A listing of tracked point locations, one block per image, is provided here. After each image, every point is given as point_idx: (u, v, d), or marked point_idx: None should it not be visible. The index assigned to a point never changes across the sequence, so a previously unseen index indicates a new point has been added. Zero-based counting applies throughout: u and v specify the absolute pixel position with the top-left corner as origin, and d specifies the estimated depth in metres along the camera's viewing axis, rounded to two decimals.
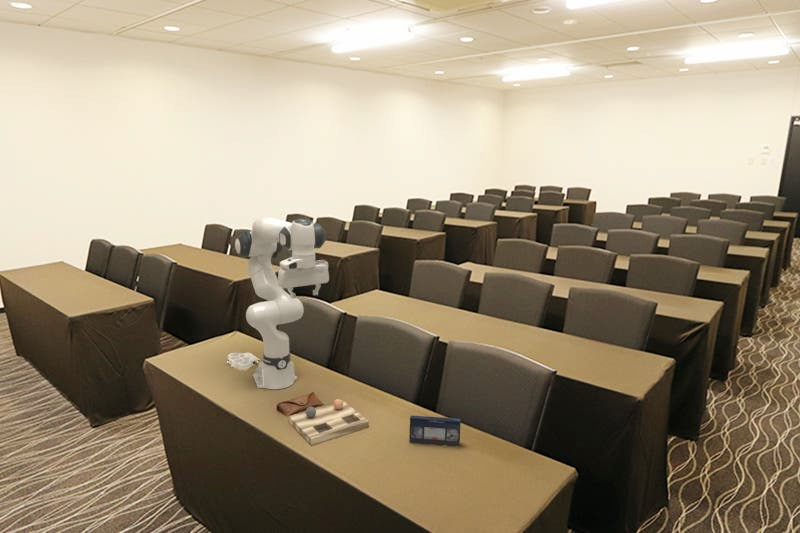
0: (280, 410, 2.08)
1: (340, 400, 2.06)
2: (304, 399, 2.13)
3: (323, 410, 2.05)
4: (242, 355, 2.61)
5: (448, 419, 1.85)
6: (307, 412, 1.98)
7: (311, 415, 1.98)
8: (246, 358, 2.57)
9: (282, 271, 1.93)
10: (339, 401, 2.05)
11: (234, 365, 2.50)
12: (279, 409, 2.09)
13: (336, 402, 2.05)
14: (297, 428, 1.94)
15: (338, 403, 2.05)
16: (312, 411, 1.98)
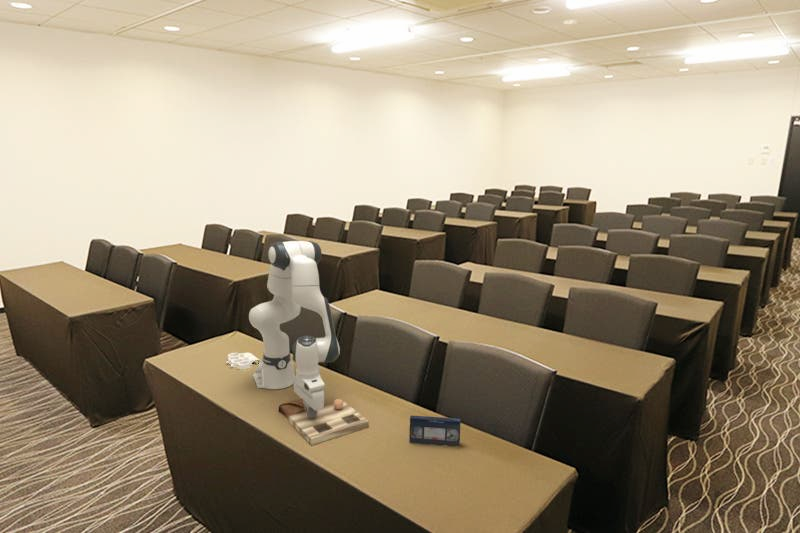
0: (282, 412, 2.07)
1: (340, 400, 2.06)
2: None
3: (323, 410, 2.05)
4: (242, 355, 2.61)
5: (448, 419, 1.85)
6: (309, 415, 1.97)
7: (312, 418, 1.98)
8: (246, 358, 2.57)
9: (320, 393, 1.93)
10: (339, 401, 2.05)
11: (234, 365, 2.50)
12: (281, 411, 2.07)
13: (336, 402, 2.05)
14: (297, 428, 1.94)
15: (338, 403, 2.05)
16: (314, 416, 1.97)
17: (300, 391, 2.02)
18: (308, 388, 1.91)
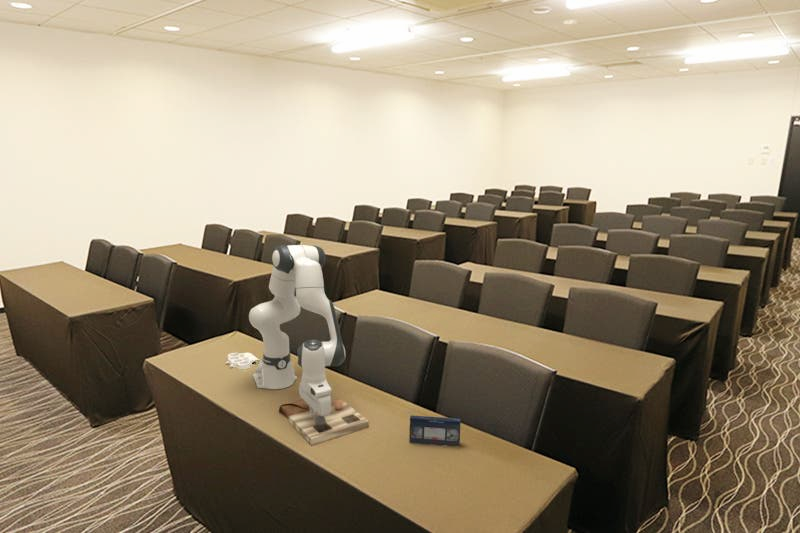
0: (282, 412, 2.06)
1: (340, 400, 2.06)
2: None
3: None
4: (242, 355, 2.61)
5: (448, 419, 1.85)
6: (315, 420, 1.93)
7: (317, 416, 1.93)
8: (246, 358, 2.57)
9: (327, 398, 1.89)
10: (339, 401, 2.05)
11: (233, 365, 2.50)
12: (281, 411, 2.07)
13: (336, 402, 2.05)
14: (297, 428, 1.94)
15: (338, 403, 2.05)
16: None
17: (306, 396, 1.97)
18: (314, 393, 1.87)
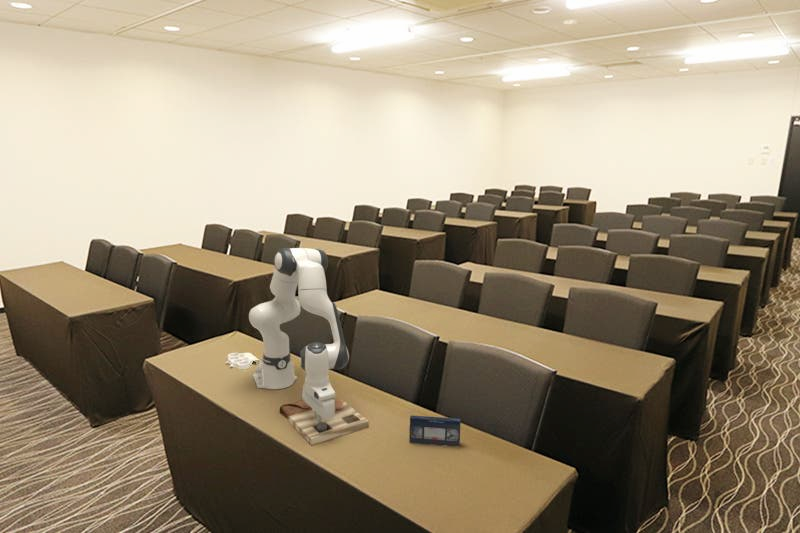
0: (283, 413, 2.06)
1: (340, 400, 2.06)
2: None
3: None
4: (242, 355, 2.61)
5: (448, 419, 1.85)
6: (317, 426, 1.92)
7: (321, 425, 1.92)
8: (246, 358, 2.57)
9: (330, 401, 1.86)
10: (339, 401, 2.05)
11: (233, 365, 2.50)
12: (282, 412, 2.06)
13: (336, 402, 2.05)
14: (297, 428, 1.94)
15: (338, 403, 2.05)
16: (321, 422, 1.93)
17: (309, 399, 1.95)
18: (318, 397, 1.85)
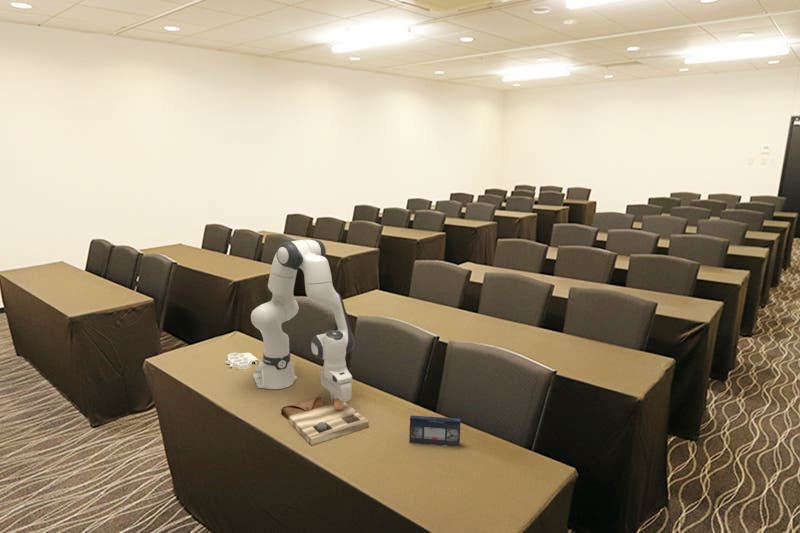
0: (284, 414, 2.05)
1: (342, 402, 2.05)
2: (309, 403, 2.09)
3: (323, 410, 2.05)
4: (242, 355, 2.61)
5: (448, 419, 1.85)
6: (317, 426, 1.92)
7: (321, 425, 1.91)
8: (245, 358, 2.57)
9: (348, 385, 2.00)
10: (340, 403, 2.05)
11: (233, 365, 2.50)
12: (283, 413, 2.05)
13: (337, 404, 2.04)
14: (297, 428, 1.94)
15: (339, 405, 2.04)
16: (321, 422, 1.93)
17: (327, 383, 2.09)
18: (336, 380, 1.99)
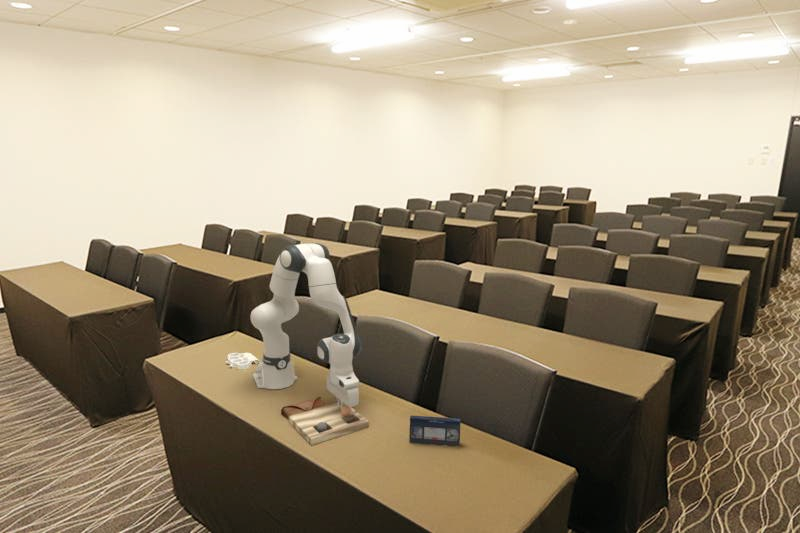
0: (284, 414, 2.05)
1: None
2: (309, 404, 2.09)
3: (323, 410, 2.05)
4: (242, 355, 2.61)
5: (448, 419, 1.85)
6: (317, 426, 1.92)
7: (321, 425, 1.91)
8: (245, 358, 2.57)
9: (355, 389, 1.96)
10: None
11: (233, 365, 2.50)
12: (283, 413, 2.05)
13: None
14: (297, 428, 1.94)
15: None
16: (321, 422, 1.93)
17: (333, 388, 2.05)
18: (343, 385, 1.94)
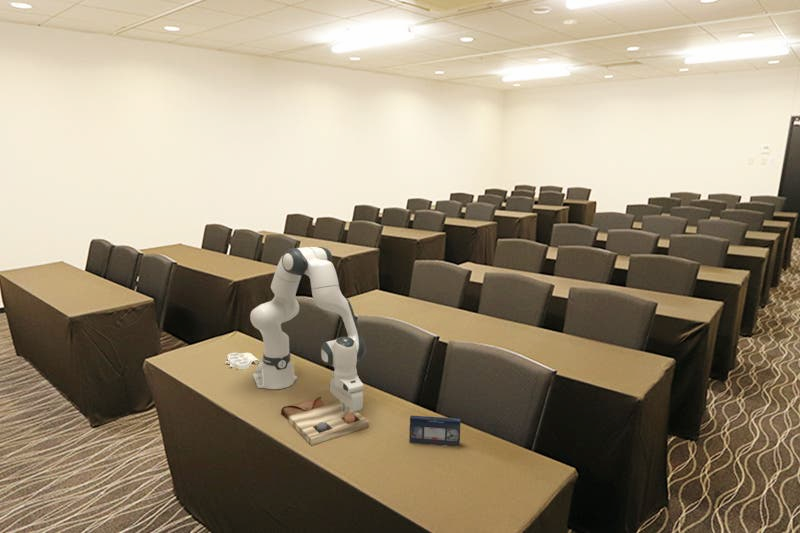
0: (284, 414, 2.05)
1: None
2: (309, 404, 2.09)
3: (323, 410, 2.05)
4: (242, 355, 2.61)
5: (448, 419, 1.85)
6: (317, 426, 1.92)
7: (321, 425, 1.91)
8: (245, 358, 2.57)
9: (359, 393, 1.93)
10: (348, 414, 2.00)
11: (233, 365, 2.50)
12: (283, 413, 2.05)
13: None
14: (297, 428, 1.94)
15: (347, 414, 2.00)
16: (321, 422, 1.93)
17: (337, 392, 2.02)
18: (347, 389, 1.92)
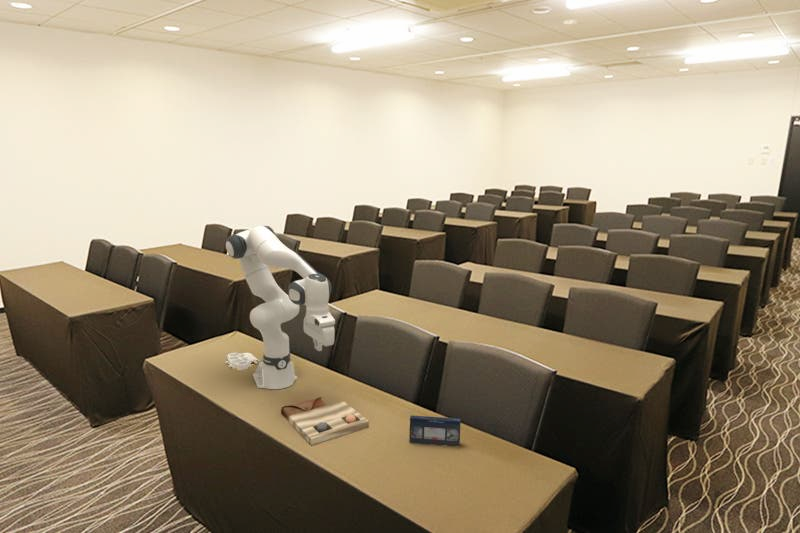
0: (284, 414, 2.05)
1: (351, 414, 2.00)
2: (309, 404, 2.09)
3: (323, 410, 2.05)
4: (242, 355, 2.61)
5: (448, 419, 1.85)
6: (317, 426, 1.92)
7: (321, 426, 1.91)
8: (245, 358, 2.57)
9: (330, 328, 1.94)
10: (350, 414, 1.99)
11: (232, 365, 2.50)
12: (283, 413, 2.05)
13: (347, 416, 1.99)
14: (297, 428, 1.94)
15: (348, 415, 1.98)
16: (321, 422, 1.93)
17: (310, 329, 2.02)
18: (318, 323, 1.92)
